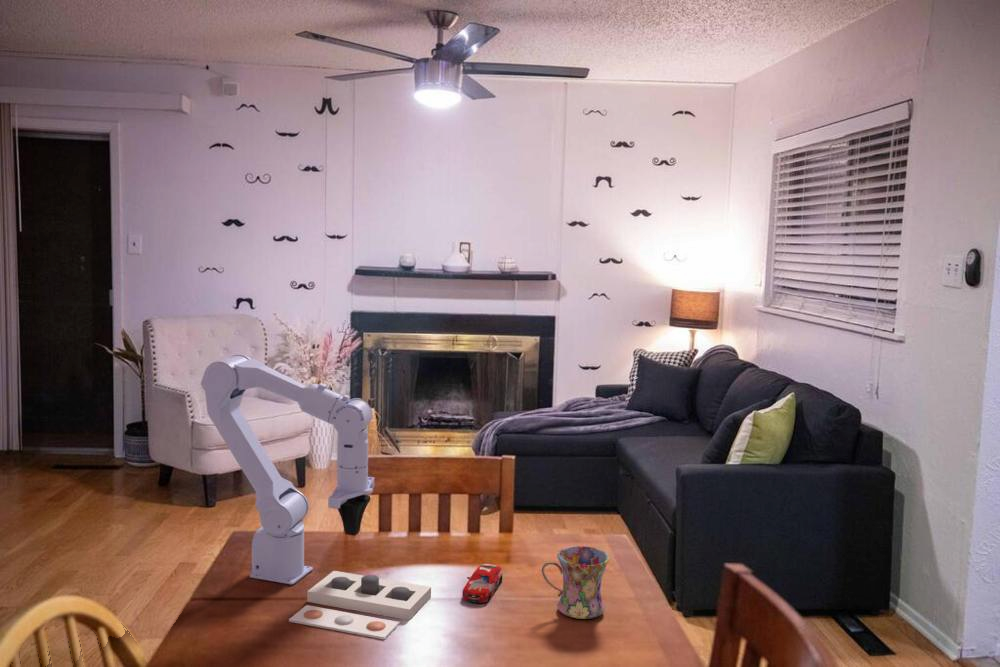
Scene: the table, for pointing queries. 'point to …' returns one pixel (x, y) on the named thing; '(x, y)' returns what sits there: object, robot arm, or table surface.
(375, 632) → the pattern card
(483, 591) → the race car
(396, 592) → the button outer
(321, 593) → the button board
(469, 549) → the table surface
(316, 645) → the table surface
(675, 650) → the table surface
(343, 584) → the button inner
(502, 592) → the table surface
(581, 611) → the mug
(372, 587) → the button middle
